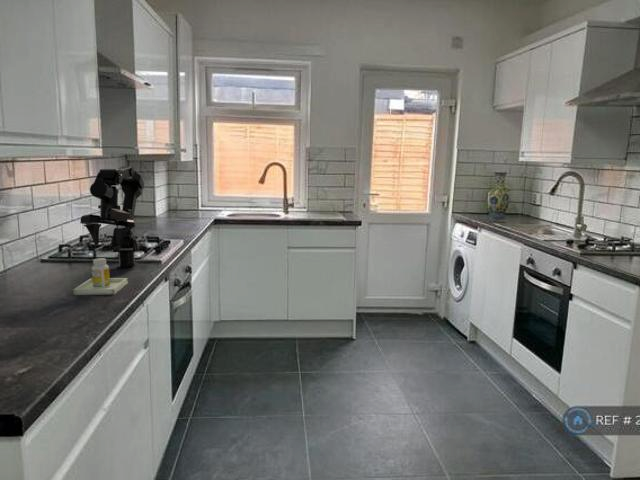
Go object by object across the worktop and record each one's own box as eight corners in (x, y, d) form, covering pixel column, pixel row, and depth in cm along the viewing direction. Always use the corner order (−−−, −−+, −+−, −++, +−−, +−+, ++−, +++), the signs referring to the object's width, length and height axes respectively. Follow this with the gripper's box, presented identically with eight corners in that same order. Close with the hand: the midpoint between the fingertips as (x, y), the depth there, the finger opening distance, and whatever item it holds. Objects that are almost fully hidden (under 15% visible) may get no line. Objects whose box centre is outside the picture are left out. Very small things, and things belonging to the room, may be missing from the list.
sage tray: (91, 283, 171) (90, 278, 170) (128, 282, 171) (127, 278, 171) (74, 294, 158) (73, 289, 157) (114, 294, 158) (113, 289, 158)
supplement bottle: (95, 290, 161) (92, 262, 159) (91, 286, 165) (89, 259, 163) (112, 287, 164) (109, 260, 162) (108, 283, 168) (105, 256, 166)
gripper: (100, 196, 163) (99, 242, 161) (145, 204, 179) (144, 246, 177) (80, 200, 168) (78, 244, 167) (125, 207, 185) (124, 247, 183)
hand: (108, 245), depth 173 cm, fingers open, 9 cm apart
